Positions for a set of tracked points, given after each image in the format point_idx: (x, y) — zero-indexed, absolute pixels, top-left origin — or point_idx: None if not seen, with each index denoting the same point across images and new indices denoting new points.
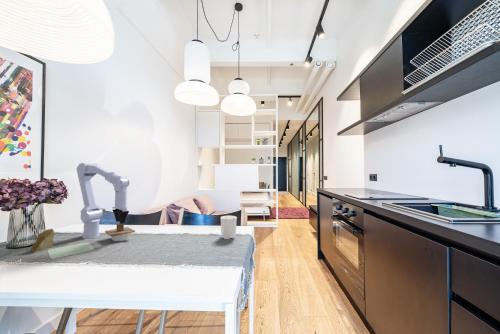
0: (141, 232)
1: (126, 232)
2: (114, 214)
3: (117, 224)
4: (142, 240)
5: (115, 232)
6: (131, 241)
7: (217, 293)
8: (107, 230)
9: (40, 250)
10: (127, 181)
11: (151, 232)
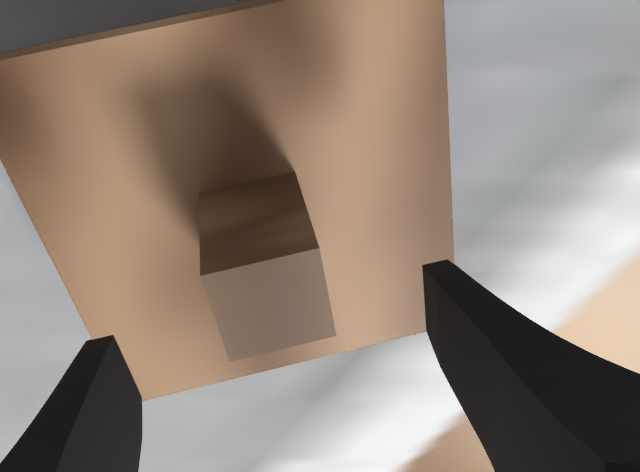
0: (419, 380)
1: (74, 303)
2: (562, 356)
3: (258, 259)
4: (32, 378)
5: (163, 150)
6: (48, 275)
7: None
8: (441, 22)
9: None
10: None
11: (341, 456)
